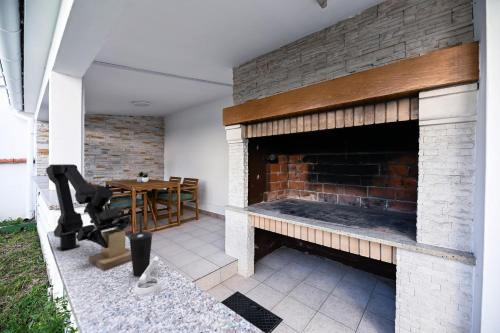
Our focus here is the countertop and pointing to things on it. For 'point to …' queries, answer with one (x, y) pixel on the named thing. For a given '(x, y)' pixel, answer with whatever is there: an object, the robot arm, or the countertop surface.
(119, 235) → the collar
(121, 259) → the post stand
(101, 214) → the robot arm
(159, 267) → the countertop surface
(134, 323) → the countertop surface
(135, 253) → the drinking cup
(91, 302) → the countertop surface
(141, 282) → the hook
